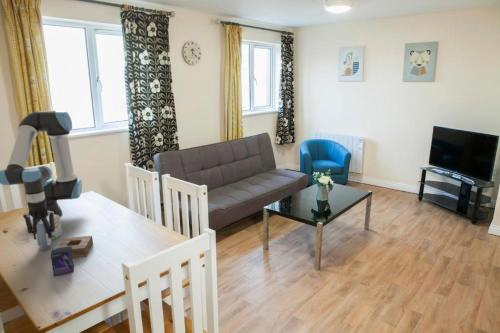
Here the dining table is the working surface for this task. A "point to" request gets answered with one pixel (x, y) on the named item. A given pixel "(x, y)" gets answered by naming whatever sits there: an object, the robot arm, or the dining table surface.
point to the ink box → (56, 231)
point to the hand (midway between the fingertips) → (44, 244)
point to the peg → (42, 236)
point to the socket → (78, 245)
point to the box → (62, 260)
